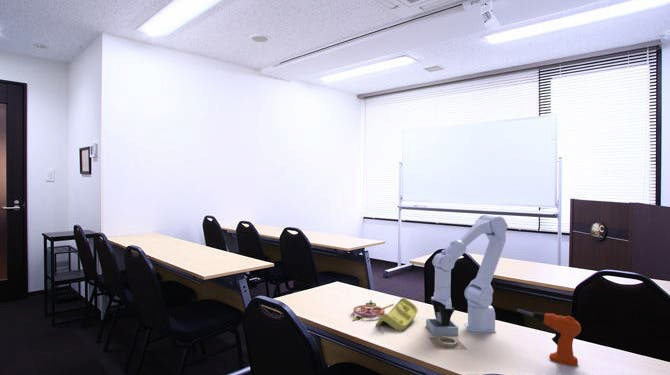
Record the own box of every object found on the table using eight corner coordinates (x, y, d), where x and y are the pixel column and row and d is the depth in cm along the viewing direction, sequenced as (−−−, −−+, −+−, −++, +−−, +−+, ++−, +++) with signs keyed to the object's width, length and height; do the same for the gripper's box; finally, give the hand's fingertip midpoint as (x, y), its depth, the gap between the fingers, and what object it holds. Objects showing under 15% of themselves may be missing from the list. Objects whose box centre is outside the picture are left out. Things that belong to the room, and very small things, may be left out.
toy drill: (513, 342, 128) (519, 299, 127) (577, 365, 118) (585, 318, 116) (510, 346, 125) (517, 303, 124) (576, 370, 114) (585, 323, 113)
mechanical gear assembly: (338, 317, 155) (368, 328, 145) (339, 307, 155) (369, 317, 145) (379, 302, 178) (407, 310, 168) (379, 293, 178) (407, 301, 168)
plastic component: (404, 327, 138) (381, 311, 143) (396, 342, 140) (374, 326, 145) (421, 309, 155) (400, 295, 160) (413, 323, 157) (393, 309, 162)
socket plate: (456, 338, 134) (456, 334, 134) (467, 350, 124) (467, 346, 124) (428, 338, 134) (428, 334, 134) (437, 350, 124) (437, 346, 124)
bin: (449, 326, 146) (449, 318, 146) (458, 336, 137) (458, 327, 137) (426, 326, 146) (426, 318, 146) (433, 335, 136) (433, 327, 136)
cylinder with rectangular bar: (436, 327, 144) (436, 308, 144) (447, 328, 143) (447, 309, 143) (436, 330, 140) (437, 312, 140) (447, 332, 139) (448, 313, 139)
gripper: (426, 281, 148) (425, 315, 148) (438, 291, 134) (437, 329, 134) (444, 281, 149) (443, 315, 149) (457, 291, 134) (456, 329, 134)
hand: (441, 322), depth 141 cm, fingers open, 7 cm apart
